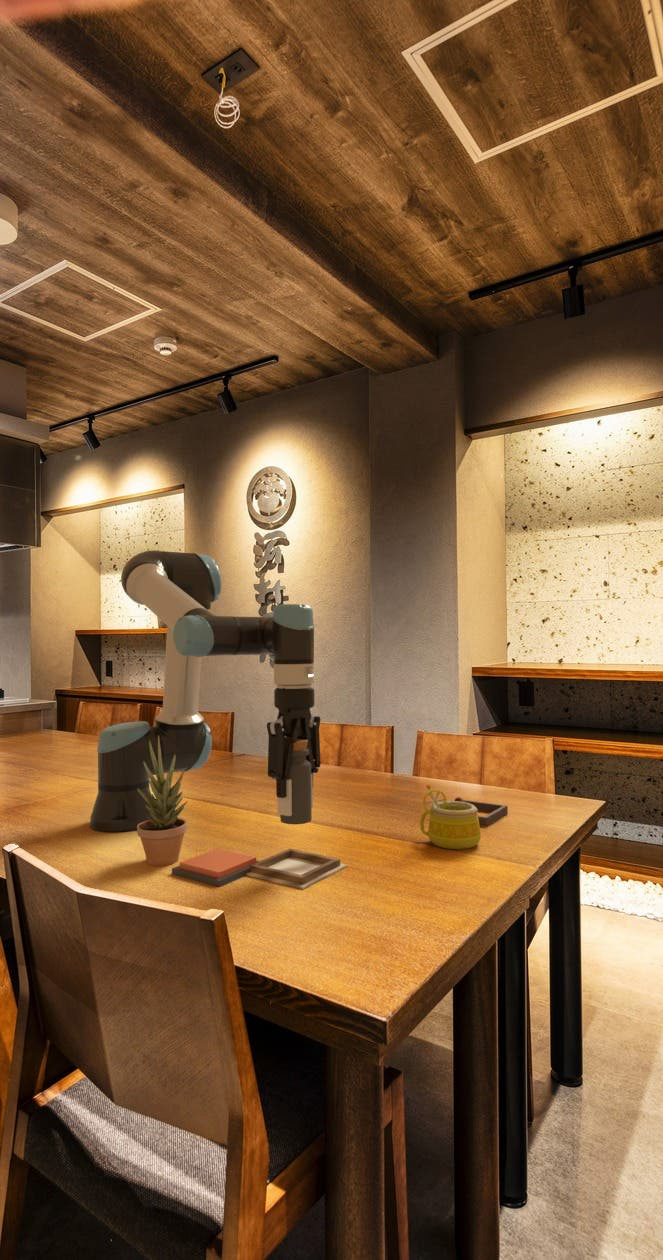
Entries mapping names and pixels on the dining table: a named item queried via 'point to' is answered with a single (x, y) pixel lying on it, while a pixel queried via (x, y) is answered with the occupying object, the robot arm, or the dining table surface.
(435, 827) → the mug
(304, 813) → the cork-lidded jar
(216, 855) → the ink pad
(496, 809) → the pastry tray
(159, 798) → the potted plant
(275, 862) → the frame
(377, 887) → the dining table surface
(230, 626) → the robot arm
